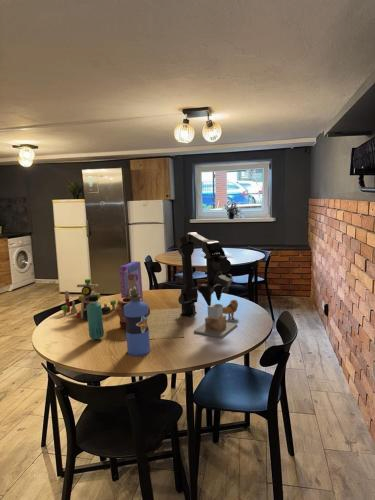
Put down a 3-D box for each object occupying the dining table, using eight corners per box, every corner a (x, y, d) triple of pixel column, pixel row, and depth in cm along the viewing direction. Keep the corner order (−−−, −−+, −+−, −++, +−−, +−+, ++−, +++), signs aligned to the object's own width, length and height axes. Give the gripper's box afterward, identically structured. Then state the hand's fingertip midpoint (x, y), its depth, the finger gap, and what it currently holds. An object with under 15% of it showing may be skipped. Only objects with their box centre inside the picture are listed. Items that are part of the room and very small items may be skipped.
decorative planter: (158, 324, 165) (156, 297, 164) (145, 334, 154) (143, 304, 153) (123, 320, 174) (121, 294, 172) (109, 329, 163) (106, 301, 161)
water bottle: (122, 353, 135) (117, 292, 132) (138, 344, 143) (133, 286, 140) (139, 358, 130) (135, 294, 127) (155, 349, 138) (151, 288, 134)
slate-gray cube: (208, 317, 154) (207, 306, 154) (213, 313, 159) (212, 303, 158) (217, 318, 152) (217, 307, 151) (222, 315, 156) (222, 304, 155)
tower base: (193, 332, 153) (193, 319, 152) (210, 321, 166) (210, 309, 166) (221, 338, 146) (221, 324, 145) (237, 325, 159) (236, 312, 158)
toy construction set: (51, 319, 182) (47, 281, 179) (77, 306, 203) (73, 272, 200) (95, 322, 174) (91, 283, 171) (117, 309, 195) (114, 273, 192)
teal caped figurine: (96, 343, 146) (92, 298, 144) (86, 340, 150) (81, 296, 147) (107, 338, 152) (104, 294, 149) (97, 335, 155) (93, 293, 153)
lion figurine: (234, 314, 175) (234, 297, 173) (240, 317, 170) (240, 300, 169) (209, 320, 168) (209, 302, 167) (215, 323, 163) (214, 305, 162)
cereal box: (129, 308, 195) (126, 266, 191) (122, 307, 196) (119, 266, 193) (142, 299, 211) (140, 261, 208) (135, 299, 212) (133, 261, 209)
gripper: (219, 274, 141) (220, 311, 143) (238, 266, 156) (238, 299, 158) (196, 272, 147) (197, 308, 149) (216, 265, 162) (217, 296, 164)
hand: (214, 302), depth 155 cm, fingers open, 9 cm apart
